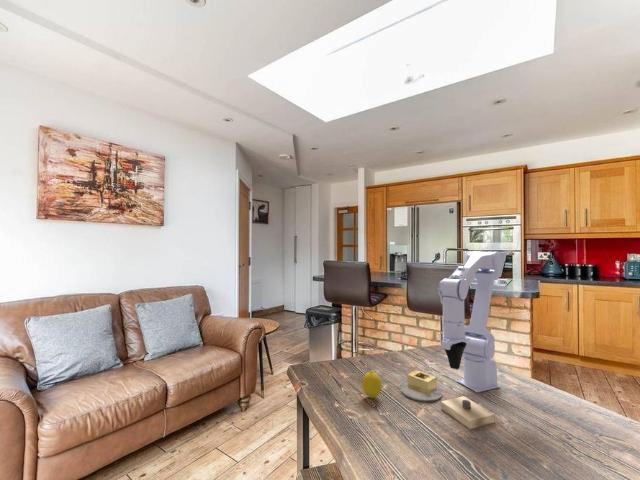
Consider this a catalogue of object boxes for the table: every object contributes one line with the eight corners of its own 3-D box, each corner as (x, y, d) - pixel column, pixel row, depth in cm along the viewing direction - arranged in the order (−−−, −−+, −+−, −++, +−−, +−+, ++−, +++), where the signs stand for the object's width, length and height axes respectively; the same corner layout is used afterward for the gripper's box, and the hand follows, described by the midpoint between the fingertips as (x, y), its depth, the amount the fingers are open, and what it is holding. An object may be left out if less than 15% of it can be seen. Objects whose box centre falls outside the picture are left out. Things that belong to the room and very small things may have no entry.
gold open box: (416, 382, 98) (416, 370, 98) (436, 390, 92) (436, 377, 92) (407, 387, 94) (407, 374, 94) (428, 395, 89) (427, 382, 89)
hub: (424, 380, 101) (424, 368, 101) (450, 397, 90) (450, 383, 90) (393, 386, 97) (393, 374, 97) (417, 404, 86) (416, 390, 86)
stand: (463, 403, 86) (463, 390, 87) (494, 422, 77) (494, 408, 77) (441, 408, 84) (440, 395, 84) (469, 429, 74) (469, 414, 74)
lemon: (381, 403, 87) (380, 375, 87) (362, 402, 88) (361, 374, 88) (381, 394, 92) (380, 368, 93) (363, 393, 94) (362, 367, 94)
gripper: (460, 328, 79) (462, 380, 79) (475, 317, 90) (476, 363, 90) (433, 324, 84) (434, 373, 83) (450, 314, 95) (451, 358, 94)
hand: (454, 368), depth 87 cm, fingers closed
